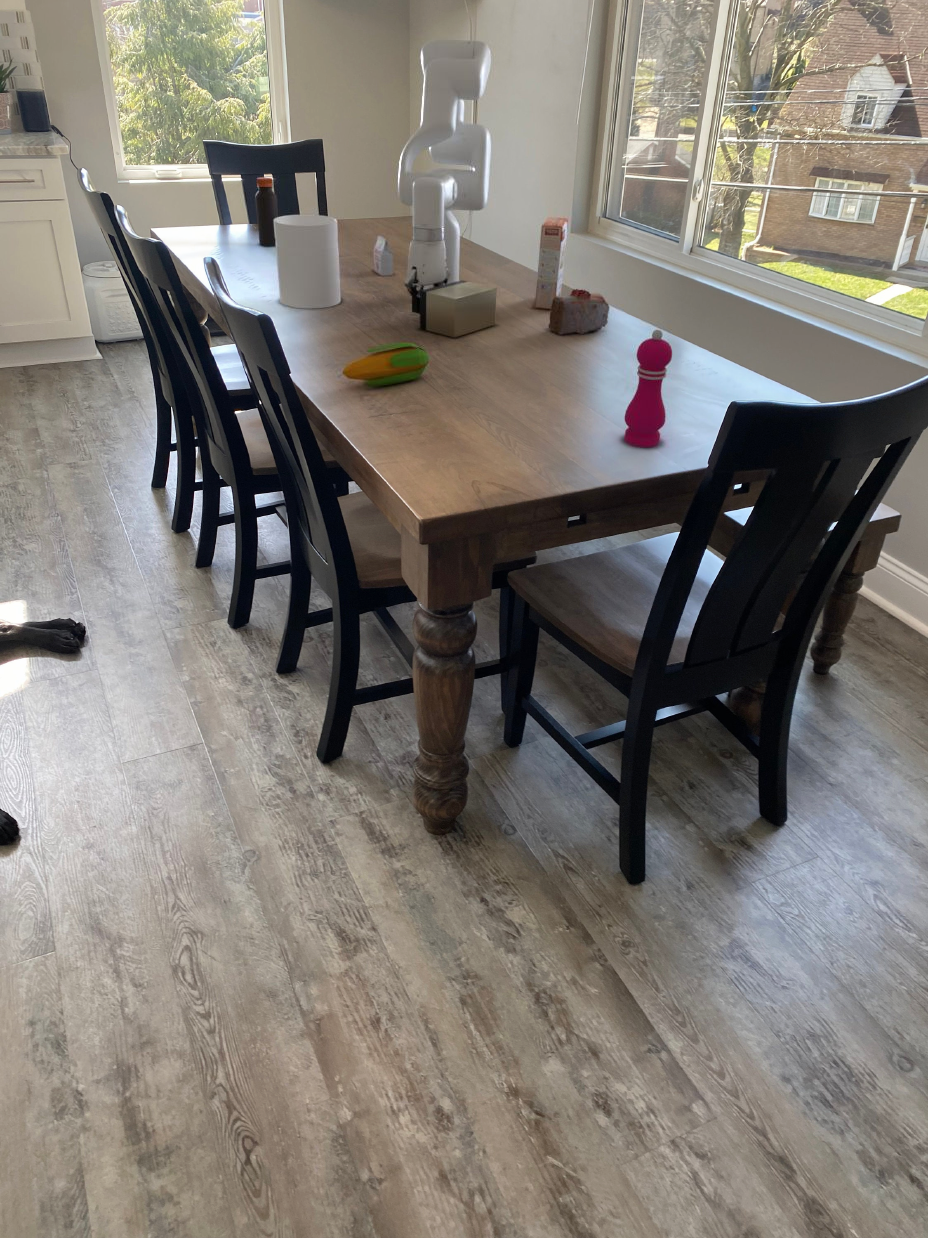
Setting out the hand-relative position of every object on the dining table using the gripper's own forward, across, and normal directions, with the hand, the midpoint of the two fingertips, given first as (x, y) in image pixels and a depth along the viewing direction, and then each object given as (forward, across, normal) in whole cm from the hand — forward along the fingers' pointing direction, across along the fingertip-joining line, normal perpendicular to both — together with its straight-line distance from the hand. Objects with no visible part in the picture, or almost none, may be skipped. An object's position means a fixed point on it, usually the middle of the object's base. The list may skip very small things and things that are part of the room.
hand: (427, 309), depth 224 cm
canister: (+3, +8, -34) cm, 35 cm away
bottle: (+3, -32, -98) cm, 103 cm away
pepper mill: (+3, +34, +81) cm, 88 cm away
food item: (+3, -19, +33) cm, 38 cm away
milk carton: (+3, -30, -44) cm, 53 cm away
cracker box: (+3, -36, +12) cm, 38 cm away
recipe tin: (+2, 0, +7) cm, 8 cm away
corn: (+3, +42, +26) cm, 50 cm away
